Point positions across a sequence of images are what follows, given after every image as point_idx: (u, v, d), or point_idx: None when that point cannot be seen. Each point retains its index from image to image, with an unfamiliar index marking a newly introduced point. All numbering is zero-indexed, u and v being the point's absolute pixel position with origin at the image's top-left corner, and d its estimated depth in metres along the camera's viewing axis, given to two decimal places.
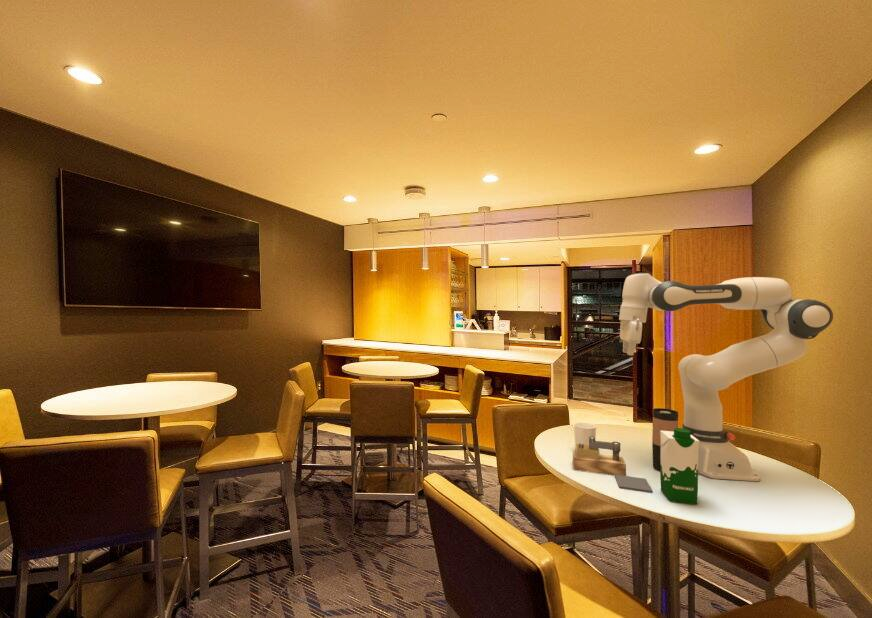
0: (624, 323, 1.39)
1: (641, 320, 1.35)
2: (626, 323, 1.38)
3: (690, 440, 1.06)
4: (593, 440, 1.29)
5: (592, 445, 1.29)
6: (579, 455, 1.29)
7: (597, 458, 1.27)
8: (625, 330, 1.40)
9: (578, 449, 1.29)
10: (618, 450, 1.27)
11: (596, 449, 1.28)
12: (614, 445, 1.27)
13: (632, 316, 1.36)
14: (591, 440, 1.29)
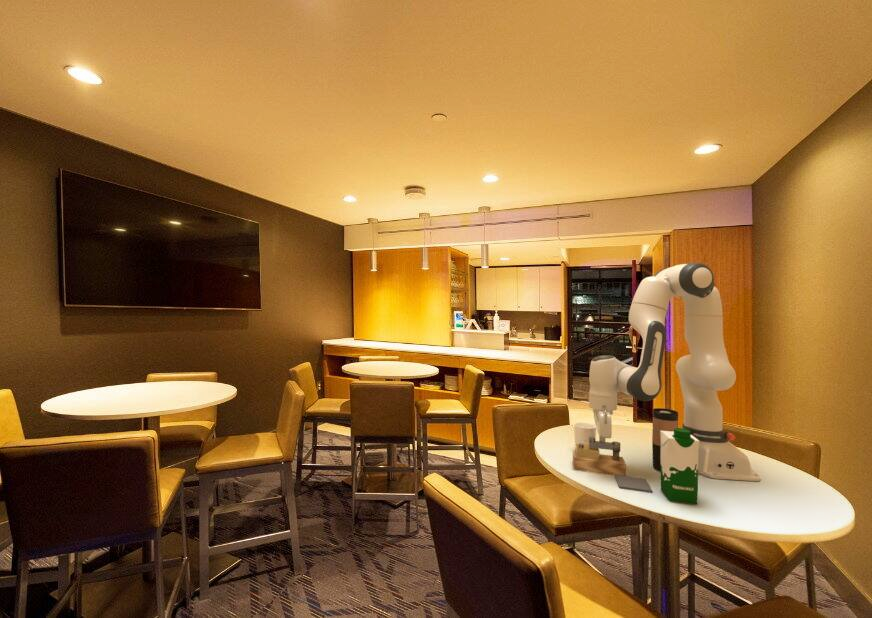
0: (594, 411, 1.30)
1: (611, 409, 1.26)
2: (596, 412, 1.29)
3: (690, 440, 1.06)
4: (593, 440, 1.29)
5: (592, 445, 1.29)
6: (579, 455, 1.29)
7: (597, 458, 1.27)
8: (596, 418, 1.31)
9: (578, 449, 1.29)
10: (618, 450, 1.27)
11: (596, 449, 1.28)
12: (614, 445, 1.27)
13: (601, 405, 1.27)
14: (591, 440, 1.29)
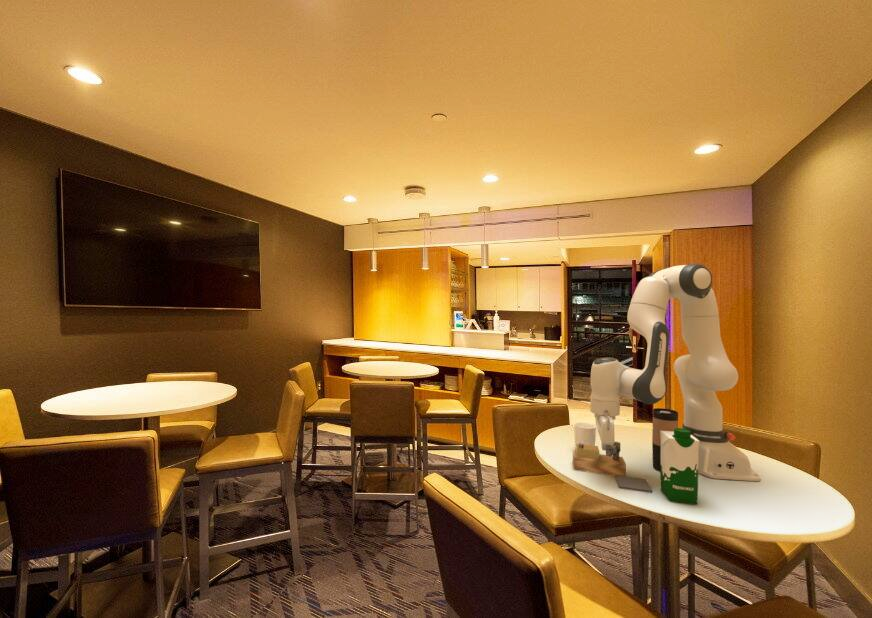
0: (596, 416, 1.24)
1: (613, 414, 1.20)
2: (598, 417, 1.23)
3: (690, 440, 1.06)
4: (612, 448, 1.22)
5: (611, 453, 1.22)
6: (579, 455, 1.29)
7: (597, 458, 1.27)
8: (598, 423, 1.25)
9: (578, 449, 1.29)
10: None
11: (596, 449, 1.28)
12: (618, 446, 1.27)
13: (603, 410, 1.21)
14: (611, 448, 1.21)
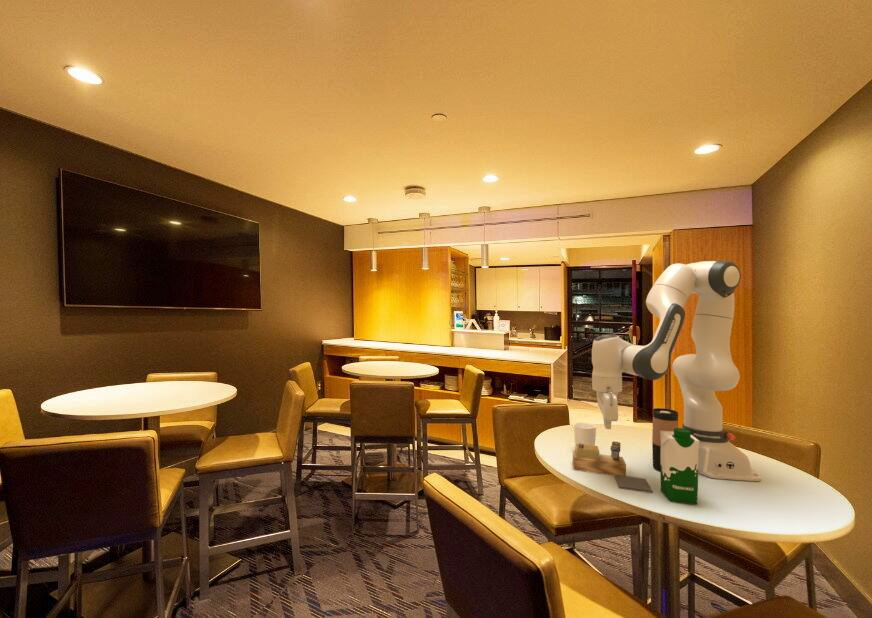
0: (598, 394, 1.22)
1: (616, 390, 1.19)
2: (600, 394, 1.21)
3: (690, 440, 1.06)
4: None
5: (616, 454, 1.21)
6: (579, 455, 1.29)
7: (597, 458, 1.27)
8: (601, 401, 1.23)
9: (578, 449, 1.29)
10: None
11: (596, 449, 1.28)
12: (619, 446, 1.27)
13: (605, 387, 1.19)
14: (617, 449, 1.21)
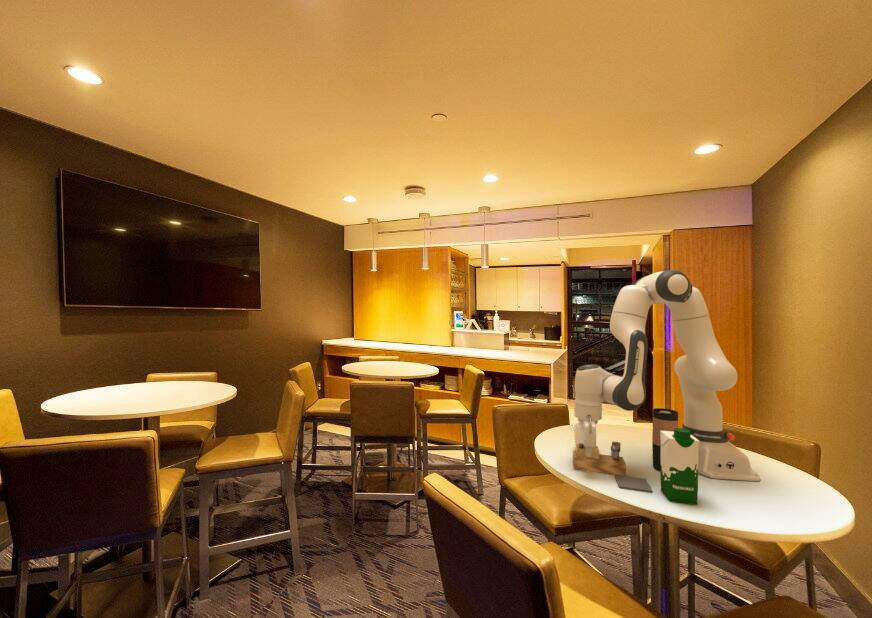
0: (579, 420, 1.30)
1: (596, 418, 1.26)
2: (581, 421, 1.29)
3: (690, 440, 1.06)
4: None
5: (616, 454, 1.21)
6: (579, 455, 1.29)
7: (597, 458, 1.27)
8: (582, 427, 1.31)
9: (578, 449, 1.29)
10: None
11: (596, 449, 1.28)
12: (619, 446, 1.27)
13: (586, 415, 1.27)
14: (617, 449, 1.21)
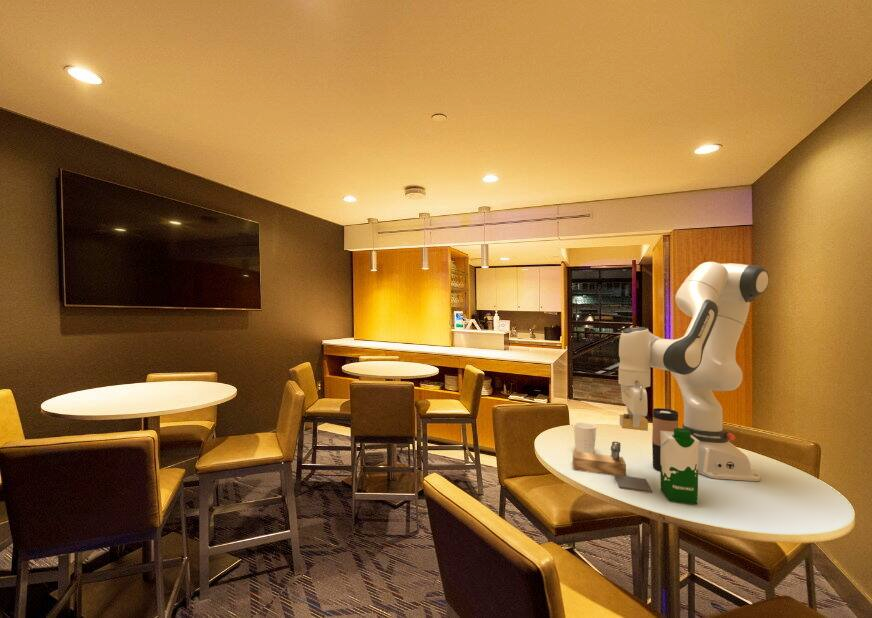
0: (625, 388, 1.18)
1: (645, 385, 1.14)
2: (627, 388, 1.17)
3: (690, 440, 1.06)
4: None
5: (616, 454, 1.21)
6: (625, 426, 1.17)
7: (645, 429, 1.15)
8: (627, 395, 1.19)
9: (624, 419, 1.17)
10: None
11: (644, 419, 1.16)
12: (619, 446, 1.27)
13: (633, 381, 1.15)
14: (617, 449, 1.21)
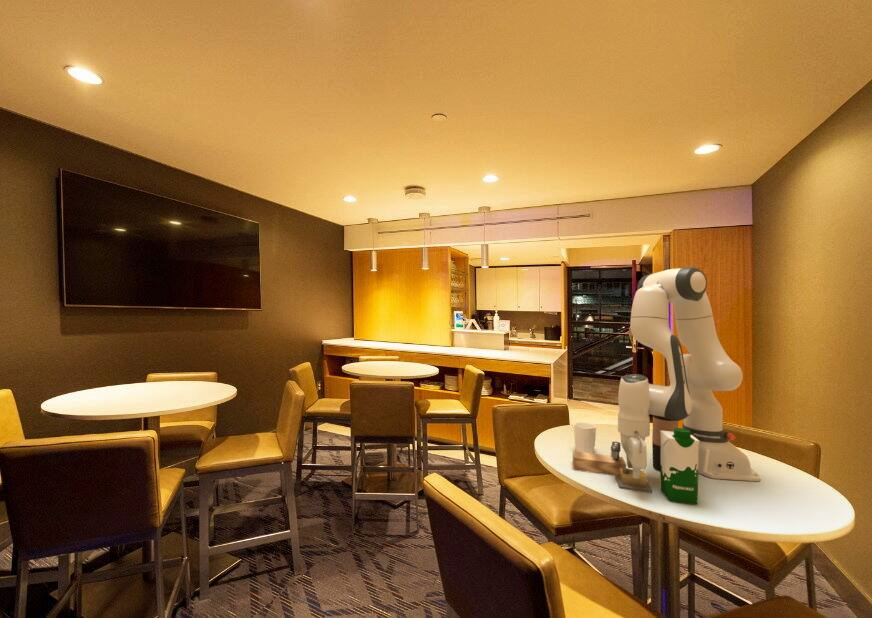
0: (624, 437, 1.18)
1: (644, 435, 1.14)
2: (627, 438, 1.17)
3: (690, 440, 1.06)
4: None
5: (616, 454, 1.21)
6: (624, 481, 1.17)
7: (645, 485, 1.15)
8: (626, 444, 1.19)
9: (623, 475, 1.17)
10: None
11: (643, 475, 1.16)
12: (619, 446, 1.27)
13: (633, 431, 1.15)
14: (617, 449, 1.21)
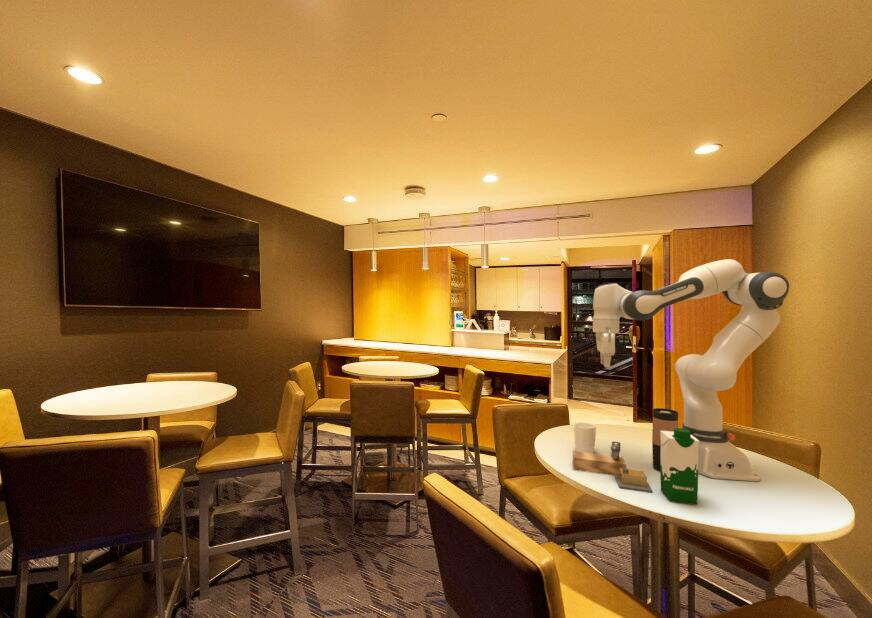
0: (598, 335, 1.38)
1: (614, 331, 1.35)
2: (600, 335, 1.37)
3: (690, 440, 1.06)
4: None
5: (616, 454, 1.21)
6: (624, 481, 1.17)
7: (645, 485, 1.15)
8: (600, 342, 1.39)
9: (623, 475, 1.17)
10: None
11: (643, 475, 1.16)
12: (619, 446, 1.27)
13: (604, 328, 1.35)
14: (617, 449, 1.21)
